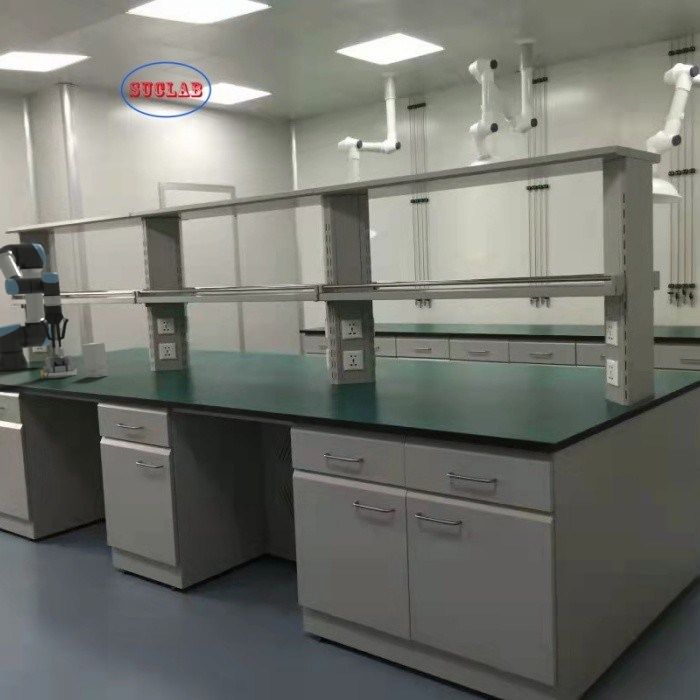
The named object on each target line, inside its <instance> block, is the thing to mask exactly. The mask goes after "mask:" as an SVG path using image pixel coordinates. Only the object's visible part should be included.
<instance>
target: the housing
mask: <svg viewBox="0 0 700 700" xmlns="http://www.w3.org/2000/svg"><path fill="white" fill-rule="evenodd" d="M66 356H67V355H64V356H63V355H61V356H59V355H58V356H51V357H52V359H54V365H55V366H63V365H65V359H64V358H66ZM44 374H45V379H60V378H70V377H74V375H75V376H77V375H78V369H77V368H76V369H74V370H70V371H62V372H44Z"/></svg>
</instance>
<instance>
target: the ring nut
mask: <svg viewBox="0 0 700 700" xmlns="http://www.w3.org/2000/svg"><path fill="white" fill-rule="evenodd" d="M65 356H66V358H64V359H65V365H63V366H55V365H54V359H52V357H53V356H49V357H48V356H47V357H44V359H45V360H44V361H45V365H43V370H44V372H62V371H70V370H74V369H77V368H76V367H77V365H76V362H74V360H73V356H72V355H65Z"/></svg>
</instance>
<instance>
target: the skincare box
mask: <svg viewBox="0 0 700 700" xmlns="http://www.w3.org/2000/svg"><path fill="white" fill-rule="evenodd" d="M82 352H83V359H84V366H85V367H84V368H85V376H86V378H97V379H98V378H103V377H107V376H109V372H108V364H107V362H108V361H107V354H106V345H105V342H90V343H83V344H82Z"/></svg>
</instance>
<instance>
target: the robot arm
mask: <svg viewBox="0 0 700 700" xmlns="http://www.w3.org/2000/svg"><path fill="white" fill-rule="evenodd" d="M46 265H47V258H46V254H45V250H44V247H43V246H42V244H39V243H10V244H6V245H4V246H1V247H0V271H1V273H2V274H3V276H4V278H5V280H4V290H5V293H6V295H8V296H9V295H11V296H17V295H24V298H25V308H26V320H25V321H24V325H21V323H12V324H6V325H2V326H0V372H11V371H21V370H26V369H28V368H29V362H28V361H27V358H26V355H25V353H24V349H26V348H37V347H38V348H39V347H41V348H42V347H46V346H49V345H51V344H52V348H54V353H55V355H56V356H57V355H60V354H61V353H60V348H61V347H62V340H64V339H65V336H66V331H67V324H68V322H69V321H70V320H69V319H70V318H69V319H68V318H67V317H64V314H63V309H62V305H61V304H62V298H61V297H62V296H61V289H60V278H59V277H60V276H59V273H58V272H44V273H42V271H44V267H45V266H46ZM41 273H42V274H41ZM61 322H63V323H62V329H61V328H60V324H61ZM55 329H56V337H55ZM56 338H57V339H56Z"/></svg>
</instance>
